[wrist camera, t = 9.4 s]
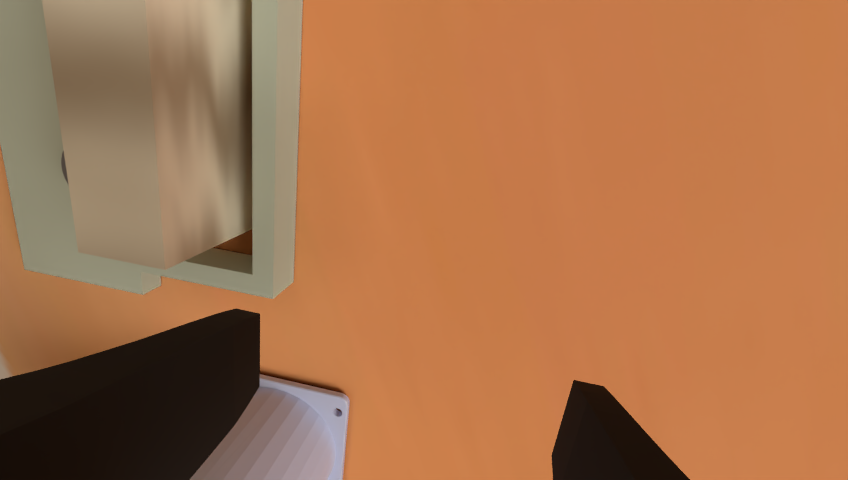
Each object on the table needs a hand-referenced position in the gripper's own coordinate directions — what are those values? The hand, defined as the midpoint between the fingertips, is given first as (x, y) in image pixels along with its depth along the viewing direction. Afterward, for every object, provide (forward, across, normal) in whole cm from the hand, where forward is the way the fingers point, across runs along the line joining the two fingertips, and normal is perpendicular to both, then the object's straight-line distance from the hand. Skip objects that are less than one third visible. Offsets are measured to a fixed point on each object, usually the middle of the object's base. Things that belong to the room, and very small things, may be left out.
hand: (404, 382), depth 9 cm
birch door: (+10, +11, -5) cm, 16 cm away
